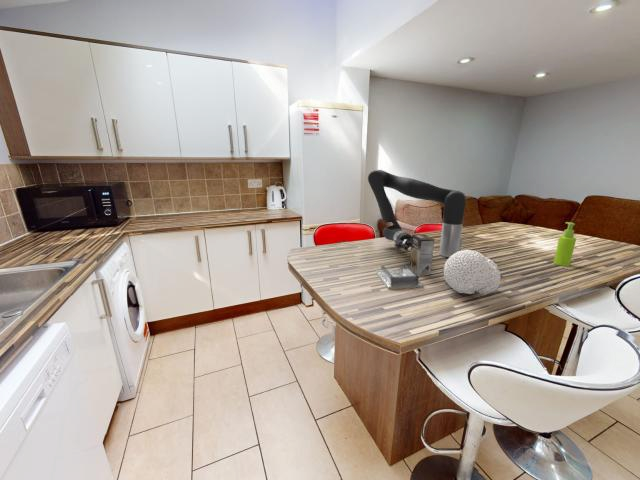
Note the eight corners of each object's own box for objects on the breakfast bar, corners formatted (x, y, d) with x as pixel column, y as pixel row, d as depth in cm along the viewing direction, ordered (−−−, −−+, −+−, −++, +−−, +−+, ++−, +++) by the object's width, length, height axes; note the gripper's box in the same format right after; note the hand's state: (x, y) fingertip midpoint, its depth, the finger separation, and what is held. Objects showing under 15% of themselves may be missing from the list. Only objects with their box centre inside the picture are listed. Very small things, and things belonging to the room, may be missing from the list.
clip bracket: (406, 271, 122) (406, 262, 121) (423, 287, 106) (424, 277, 105) (375, 272, 121) (376, 263, 120) (388, 289, 105) (388, 279, 104)
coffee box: (408, 267, 126) (411, 234, 122) (421, 267, 127) (425, 233, 122) (416, 275, 118) (420, 239, 113) (431, 274, 118) (435, 238, 114)
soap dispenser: (565, 262, 132) (576, 221, 126) (571, 266, 126) (582, 224, 120) (550, 260, 134) (560, 220, 129) (555, 265, 128) (565, 223, 123)
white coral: (467, 283, 89) (472, 238, 94) (429, 287, 105) (435, 249, 110) (511, 303, 94) (513, 259, 99) (468, 304, 110) (472, 266, 115)
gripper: (390, 232, 138) (401, 241, 123) (417, 231, 140) (432, 240, 124) (389, 246, 141) (400, 256, 125) (415, 245, 142) (430, 255, 126)
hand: (416, 248), depth 124 cm, fingers open, 8 cm apart
